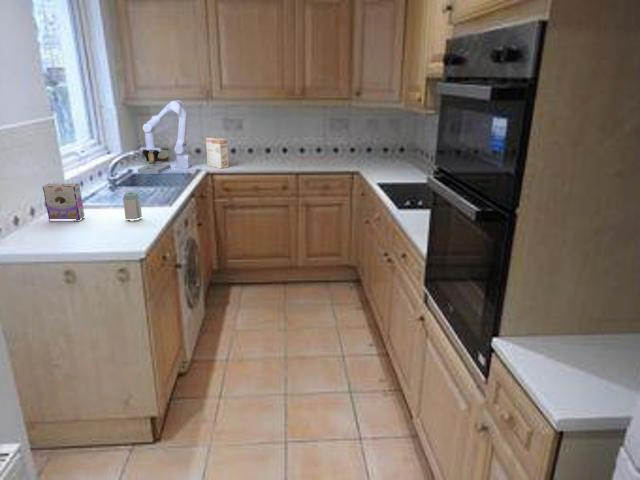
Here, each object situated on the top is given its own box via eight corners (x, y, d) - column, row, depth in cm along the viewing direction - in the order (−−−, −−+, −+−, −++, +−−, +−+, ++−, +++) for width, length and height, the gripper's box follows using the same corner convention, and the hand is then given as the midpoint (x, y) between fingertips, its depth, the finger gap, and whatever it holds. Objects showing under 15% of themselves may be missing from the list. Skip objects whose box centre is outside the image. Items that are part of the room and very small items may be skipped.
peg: (156, 165, 338) (155, 152, 335) (153, 167, 334) (152, 153, 331) (151, 165, 338) (149, 152, 335) (148, 166, 334) (146, 153, 331)
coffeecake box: (229, 167, 337) (227, 138, 330) (221, 168, 331) (219, 139, 325) (215, 164, 346) (213, 136, 339) (207, 165, 340) (205, 137, 334)
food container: (173, 160, 357) (172, 146, 354) (170, 162, 351) (169, 148, 348) (157, 160, 358) (156, 146, 355) (154, 161, 353) (152, 147, 349)
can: (122, 220, 220) (119, 194, 216) (135, 216, 226) (132, 191, 222) (132, 223, 217) (129, 196, 213) (145, 219, 222) (142, 193, 218)
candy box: (85, 218, 223) (80, 182, 217) (80, 222, 217) (74, 186, 212) (54, 218, 222) (48, 182, 217) (48, 221, 217) (41, 185, 211)
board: (170, 168, 330) (170, 164, 329) (158, 173, 314) (157, 169, 313) (151, 167, 332) (150, 163, 331) (138, 172, 315) (137, 169, 315)
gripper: (136, 141, 328) (139, 162, 332) (157, 142, 326) (159, 162, 330) (142, 140, 334) (144, 160, 339) (162, 141, 332) (163, 161, 337)
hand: (151, 161), depth 335 cm, fingers open, 5 cm apart
